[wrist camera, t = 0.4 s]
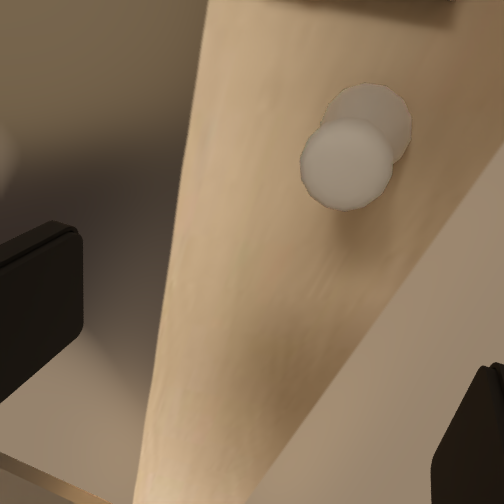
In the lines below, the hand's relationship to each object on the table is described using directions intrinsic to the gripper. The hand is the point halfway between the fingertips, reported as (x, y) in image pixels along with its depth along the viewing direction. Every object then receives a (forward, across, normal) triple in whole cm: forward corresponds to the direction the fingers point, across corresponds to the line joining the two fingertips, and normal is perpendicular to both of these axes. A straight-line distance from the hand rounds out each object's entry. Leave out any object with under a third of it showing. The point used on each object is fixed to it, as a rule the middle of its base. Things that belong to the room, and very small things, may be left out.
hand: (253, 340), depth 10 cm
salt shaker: (+25, 0, -1) cm, 25 cm away
